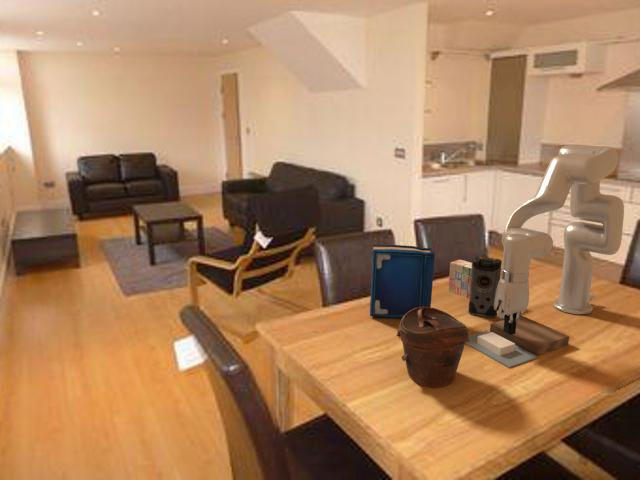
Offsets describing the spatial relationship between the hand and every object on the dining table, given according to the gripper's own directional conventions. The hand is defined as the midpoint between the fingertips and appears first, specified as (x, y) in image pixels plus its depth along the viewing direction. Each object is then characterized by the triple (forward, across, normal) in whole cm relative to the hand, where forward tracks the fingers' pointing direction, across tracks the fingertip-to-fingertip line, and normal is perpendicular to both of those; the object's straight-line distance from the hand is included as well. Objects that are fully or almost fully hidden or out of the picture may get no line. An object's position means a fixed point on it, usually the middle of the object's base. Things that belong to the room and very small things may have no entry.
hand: (509, 332), depth 149 cm
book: (+4, +15, -34) cm, 37 cm away
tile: (+3, +5, 0) cm, 6 cm away
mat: (+4, +5, 0) cm, 6 cm away
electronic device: (+4, -11, -21) cm, 24 cm away
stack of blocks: (+4, -20, -34) cm, 40 cm away
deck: (+4, -9, 0) cm, 10 cm away
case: (+4, +32, +2) cm, 33 cm away
